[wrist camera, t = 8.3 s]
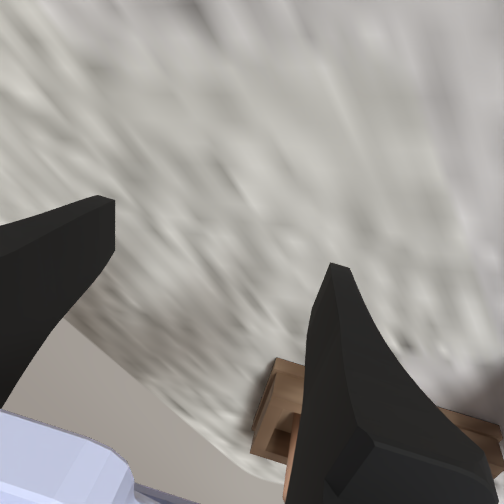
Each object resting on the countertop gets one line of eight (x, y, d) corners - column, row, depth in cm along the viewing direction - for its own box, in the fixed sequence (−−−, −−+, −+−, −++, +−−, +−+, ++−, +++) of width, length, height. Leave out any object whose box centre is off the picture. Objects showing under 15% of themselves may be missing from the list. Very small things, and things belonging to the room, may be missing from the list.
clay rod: (335, 408, 29) (332, 493, 24) (332, 433, 31) (329, 518, 26) (294, 401, 30) (282, 484, 25) (292, 426, 31) (282, 508, 27)
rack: (498, 425, 28) (512, 467, 26) (444, 479, 33) (451, 519, 30) (276, 357, 29) (269, 392, 27) (253, 419, 34) (246, 453, 31)
